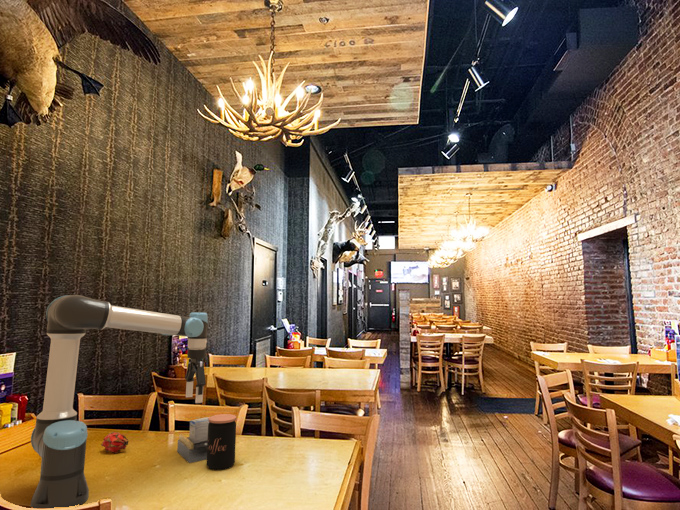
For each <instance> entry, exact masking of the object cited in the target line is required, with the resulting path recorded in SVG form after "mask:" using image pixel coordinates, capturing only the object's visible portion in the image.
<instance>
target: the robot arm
mask: <svg viewBox="0 0 680 510" xmlns="http://www.w3.org/2000/svg"><path fill="white" fill-rule="evenodd" d="M45 316H46V321H47V327H46V335H47V336H48V337H49V338H50V346H49V354H48V355H49V356H48V365H47V369H46V370H47V373H46V379H45V380H46V381H45V388H44V396H43V399H44V400H43V406H42V411H41V412H40V413H39V414H37V415H36V419H35V426H34V428H33V430H32V433H31V437H30V443H31V444H30V445H31V447H32V449H33V450H34V452H36V453H37V454H38V455H39V456H40V458H41V465H40V476H39V481H38V484H37V487H36V488H35V491H34V493H33V495H32V498H31V500H30V507H33V508H54V507H69V506H75V505H78V504H81V505H83V504H84V503H86V502H87V500H88V499H89V492H90V489H89V486H88V482H87V478H86V475H85V463H86V451H87V438H88V426H87V424H86V423H85V422H83V421H81V420H77V415H78V412H77V411H76V410H75V409H74V397H75V391H76V390H75V389H76V379H77V373H78V372H77V370H78V363H79V362H78V361H79V353H80V344H81V338H83V337H84V336H85V335H87V333H86V331H87V330H101V331H102V330H104V329H105V328H110V329H118V330H119V329H120V330H128V331H137V332H147V333H154V334H161V335H162V336H179V337H188V338H187V348H188V349H187V355H186V356H187V357H186V358H187V359H188V360H187V361H188V362H187V368H186V373H185V376H184V380H185V381H186V386H185V398H193V396H194V394H193V393H194V382H195V380H196V385H195V404H201V403H203V402H204V401H203V398H204V387H205V386H206V385H207V384H206V383H207V381H206V375H205V373H206V371H205V361H203V360H202V359H205V358H206V353H207V349H206V347H207V343H208V339H207V336H208V323H209V319H208V318H209V317H208V316H209V315H208V313H207V312H190V313H189V316H183V315H182V316H181V315H176V314H171V313H170V314H169V313H163V312H157V311H150V310H144V309H137V308H132V307H131V308H130V307H125V306H124V307H123V306H119V305H118V306H117V305H112V304H111V303H110V302H109V301H104V300H99V299H94V298H91V297H88V296H83V295H79V294H73V295H72V294H71V295H70V294H67V295H62V296H59V297H57V298H55V299H53V301H51V302H50V304H48V306H47V308H46V313H45ZM194 378H195V379H194Z"/></svg>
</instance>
